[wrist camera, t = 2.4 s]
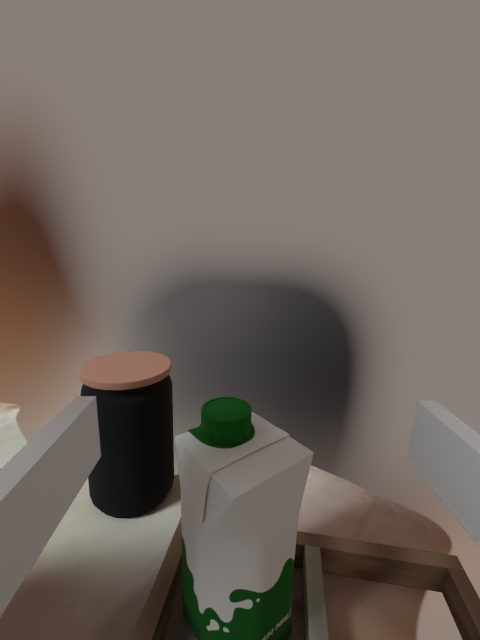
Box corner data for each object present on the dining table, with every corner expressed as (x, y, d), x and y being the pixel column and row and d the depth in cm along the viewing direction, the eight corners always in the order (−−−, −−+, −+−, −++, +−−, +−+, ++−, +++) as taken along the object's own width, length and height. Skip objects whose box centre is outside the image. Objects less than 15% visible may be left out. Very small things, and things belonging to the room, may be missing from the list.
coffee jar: (116, 459, 49) (109, 348, 45) (184, 467, 48) (182, 353, 44) (72, 516, 39) (57, 378, 35) (156, 528, 37) (151, 386, 33)
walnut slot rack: (112, 722, 22) (110, 692, 22) (182, 535, 37) (182, 513, 36) (578, 844, 18) (593, 812, 17) (451, 579, 33) (456, 556, 32)
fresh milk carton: (243, 555, 34) (249, 384, 30) (308, 635, 28) (330, 428, 23) (168, 610, 29) (162, 411, 25) (226, 725, 22) (233, 479, 18)
